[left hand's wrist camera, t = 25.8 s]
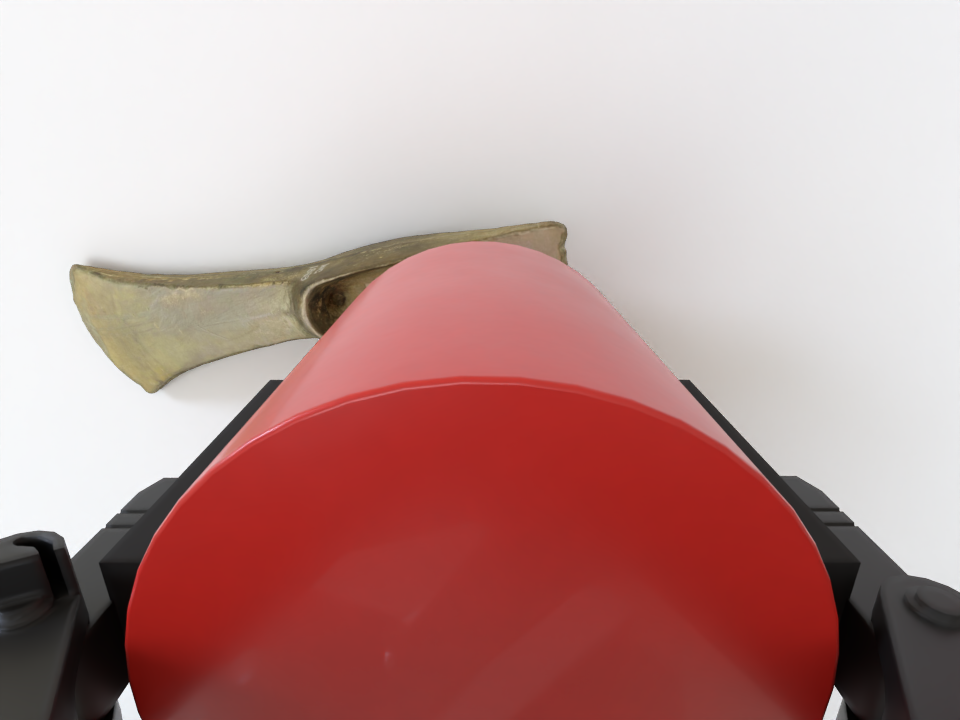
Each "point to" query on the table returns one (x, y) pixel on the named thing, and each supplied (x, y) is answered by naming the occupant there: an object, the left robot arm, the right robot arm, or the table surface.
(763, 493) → the red plastic cylinder
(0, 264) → the table surface
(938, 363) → the table surface
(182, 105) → the table surface
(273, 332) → the tool
